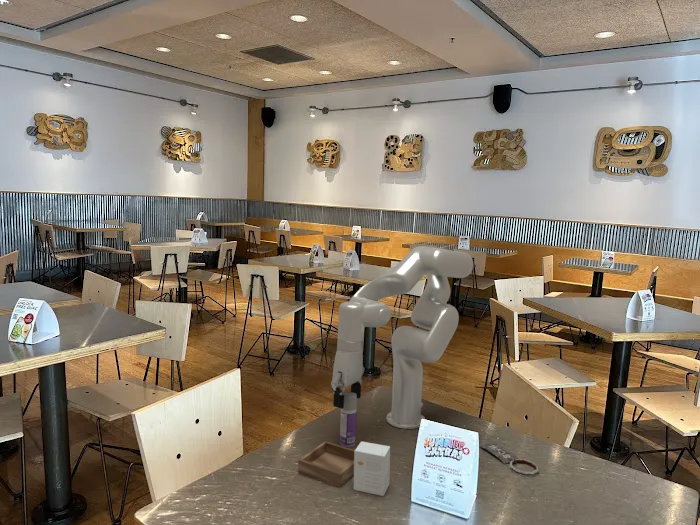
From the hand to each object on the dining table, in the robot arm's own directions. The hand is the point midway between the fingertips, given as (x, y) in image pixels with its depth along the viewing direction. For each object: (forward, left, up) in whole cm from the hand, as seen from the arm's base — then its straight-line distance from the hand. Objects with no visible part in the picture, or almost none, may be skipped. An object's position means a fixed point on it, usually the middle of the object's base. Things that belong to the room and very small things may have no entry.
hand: (347, 402), depth 152 cm
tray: (+14, +4, -13) cm, 20 cm away
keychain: (-18, +43, -14) cm, 49 cm away
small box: (+16, +17, -13) cm, 27 cm away
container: (-1, 0, -13) cm, 13 cm away
